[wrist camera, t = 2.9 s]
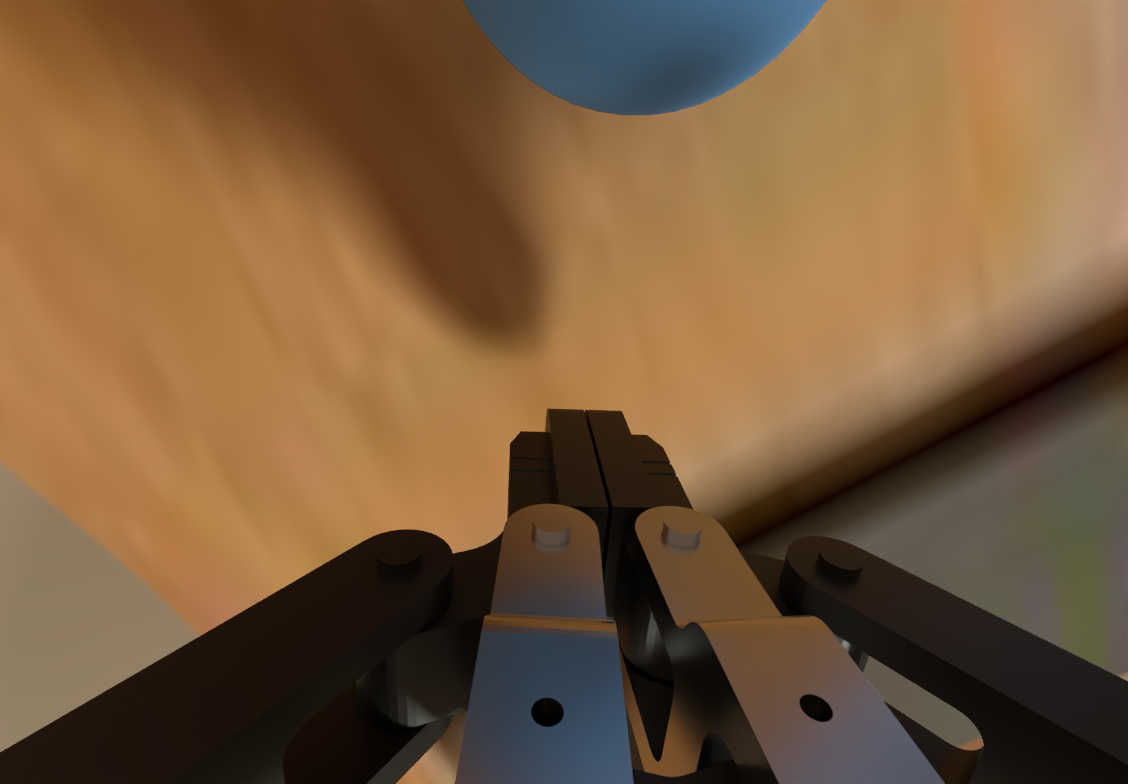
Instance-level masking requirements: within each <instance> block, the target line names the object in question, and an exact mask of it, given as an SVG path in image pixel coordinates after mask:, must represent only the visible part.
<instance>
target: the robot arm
mask: <svg viewBox="0 0 1128 784" xmlns="http://www.w3.org/2000/svg"><path fill="white" fill-rule="evenodd" d="M616 628H617V630H616ZM617 632H618V636H619V644H618V636H617ZM869 656H871V657H873V658H874V659H876V660H877V661H879V662H881V663H882V664H884V665H886V666H887V667H889V668H890V669H892V670H894V671H895V672H897V673H899V674H900V675H902V676H904V677H905V678H907V679H908V680H910V681H912V682H913V683H915V684H917V685H918V686H920V687H921V688H923V689H925V690H926V691H928V692H930V693H931V694H933V695H935V696H936V697H938V698H939V699H941V700H943V701H944V702H946V703H948V704H949V705H951V706H953V707H954V708H956V709H957V710H959V711H960V712H962V713H963V714H964V715H965V716H967V717H968V718H969V719H970V720H971V721H972V722H973V723H974V725H975V726H976V727H977V729H978V730H979V732H980V734H981V736H982V739H983V743H984V746H983V747H982V748H981V749H978V750H974V751H970V750H963V749H960V748H957V747H955V746H952V745H951V744H949V743H947V742H946V741H944V740H943V739H941V738H940V737H938V736H937V735H935V734H933V733H932V732H930V731H929V730H927V729H926V728H924V727H923V726H921V725H920V724H918V723H917V722H915V721H914V720H912V719H911V718H909V717H907V716H906V715H904V714H903V713H901V712H900V711H898V710H897V709H895V708H894V707H892V706H891V705H889V704H888V703H886V702H884V701H883V700H882V698H881V697H880V696H879V694H878V693H877V692H876V690H875V689H874V688H873V686H872V685H871V684H870V682H869V681H868V680H867V678H866V677H865V676H864V674H863V671H864V668H865V665H866V662H867V660H868V657H869ZM625 703H626V707H627V710H628V714H629V718H630V721H631V725H632V728H633V732H634V735H635V739H636V743H637V746H638V750H639V753H640V757H641V760H642V764H643V767H644V771H645V772H644V771H640V770H635V769H632V764H631V754H630V745H629V736H628V727H627V718H626V709H625ZM466 710H468V712H467V717H466V723H465V729H464V735H463V741H462V746H461V752H460V758H459V764H458V769H457V775H456V781H455V784H1128V681H1126V680H1124V679H1122V678H1120V677H1118V676H1116V675H1114V674H1112V673H1110V672H1108V671H1106V670H1104V669H1102V668H1100V667H1098V666H1096V665H1094V664H1092V663H1090V662H1088V661H1086V660H1084V659H1082V658H1080V657H1078V656H1076V655H1074V654H1072V653H1070V652H1068V651H1066V650H1064V649H1062V648H1060V647H1058V646H1056V645H1054V644H1052V643H1050V642H1048V641H1046V640H1044V639H1042V638H1039V637H1037V636H1035V635H1033V634H1031V633H1029V632H1027V631H1025V630H1023V629H1021V628H1019V627H1017V626H1015V625H1013V624H1011V623H1009V622H1007V621H1005V620H1003V619H1001V618H999V617H997V616H995V615H993V614H991V613H989V612H987V611H985V610H983V609H981V608H979V607H977V606H975V605H973V604H971V603H969V602H967V601H965V600H963V599H961V598H959V597H957V596H955V595H953V594H951V593H949V592H947V591H945V590H943V589H941V588H939V587H937V586H935V585H933V584H931V583H929V582H927V581H925V580H923V579H921V578H919V577H917V576H915V575H913V574H911V573H909V572H907V571H905V570H903V569H901V568H899V567H897V566H895V565H893V564H891V563H889V562H887V561H885V560H883V559H881V558H879V557H877V556H875V555H873V554H871V553H869V552H867V551H865V550H863V549H861V548H859V547H856V546H854V545H852V544H849V543H847V542H844V541H841V540H837V539H833V538H828V537H819V536H809V537H803V538H800V539H797V540H795V541H793V542H792V543H791V544H790V545H789V547H788V549H787V553H786V557H785V561H784V560H780V559H775V558H770V557H766V556H761V555H757V554H752V553H748V552H745V551H741V550H738V549H737V548H736V546H735V545H734V543H733V542H732V540H731V539H730V537H729V536H728V534H727V533H726V531H725V530H724V529H723V527H722V526H721V525H720V524H719V523H718V522H716V521H715V520H714V519H712V518H711V517H709V516H707V515H705V514H703V513H701V512H698V511H695V510H693V508H692V506H691V504H690V502H689V500H688V498H687V496H686V494H685V492H684V490H683V488H682V485H681V483H680V481H679V479H678V477H677V476H676V473H675V471H674V469H673V467H672V465H671V464H670V461H669V459H668V457H667V455H666V453H665V451H664V449H663V447H662V446H660V445H659V444H658V443H656V442H655V441H654V440H653V439H651V438H650V437H649V436H647V435H631V433H630V430H629V428H628V425H627V423H626V420H625V418H624V415H623V413H622V411H607V410H585V412H584V410H574V409H547V415H546V428H545V432H523V431H521V432H520V433H519V434H518V435H517V437H516V438H515V439H514V440H513V441H512V442H511V443H510V462H509V487H508V514H507V521H506V523H505V526H504V531H503V532H502V533H501V534H500V535H499V536H498V537H497V538H496V539H494V540H493V541H491V542H490V543H488V544H486V545H484V546H481V547H478V548H475V549H472V550H468V551H463V552H458V553H454V554H453V553H452V550H451V548H450V547H449V545H448V544H447V543H446V542H445V541H444V540H443V539H441V538H440V537H438V536H436V535H434V534H432V533H428V532H425V531H420V530H408V529H406V530H395V531H389V532H385V533H381V534H378V535H376V536H373V537H371V538H369V539H367V540H365V541H363V542H361V543H360V544H358V545H356V546H354V547H353V548H351V549H349V550H348V551H346V552H344V553H342V554H341V555H339V556H337V557H336V558H334V559H332V560H330V561H329V562H327V563H325V564H323V565H322V566H320V567H318V568H317V569H315V570H313V571H311V572H310V573H308V574H306V575H305V576H303V577H301V578H299V579H298V580H296V581H294V582H293V583H291V584H289V585H287V586H286V587H284V588H282V589H281V590H279V591H277V592H275V593H274V594H272V595H270V596H268V597H267V598H265V599H263V600H262V601H260V602H258V603H256V604H255V605H253V606H251V607H250V608H248V609H246V610H244V611H243V612H241V613H239V614H238V615H236V616H234V617H232V618H231V619H229V620H227V621H225V622H224V623H222V624H220V625H219V626H217V627H215V628H213V629H212V630H210V631H208V632H207V633H205V634H203V635H201V636H200V637H198V638H196V639H195V640H193V641H191V642H189V643H188V644H186V645H184V646H183V647H181V648H179V649H177V650H176V651H174V652H172V653H171V654H169V655H167V656H165V657H164V658H162V659H160V660H158V661H157V662H155V663H153V664H152V665H150V666H148V667H146V668H145V669H143V670H141V671H140V672H138V673H136V674H134V675H133V676H131V677H129V678H127V679H126V680H124V681H122V682H121V683H119V684H117V685H115V686H114V687H112V688H110V689H109V690H107V691H105V692H103V693H102V694H100V695H98V696H97V697H95V698H93V699H91V700H90V701H88V702H86V703H85V704H83V705H81V706H79V707H78V708H76V709H74V710H72V711H71V712H69V713H68V714H66V715H64V716H62V717H60V718H59V719H57V720H55V721H54V722H52V723H50V724H49V725H47V726H45V727H43V728H42V729H40V730H38V731H36V732H35V733H33V734H31V735H30V736H28V737H26V738H24V739H23V740H21V741H19V742H18V743H16V744H14V745H12V746H11V747H9V748H7V749H5V750H4V751H2V752H0V784H396V783H397V782H398V781H399V780H400V779H401V778H402V776H403V775H404V774H405V773H406V772H407V771H408V770H409V769H410V768H411V767H412V766H413V765H414V764H415V763H416V762H417V761H418V760H419V759H420V758H421V757H422V756H423V755H424V754H425V753H426V752H427V751H428V750H429V749H430V748H431V747H432V746H433V745H434V744H435V743H436V741H437V740H438V739H439V738H440V737H441V736H442V735H443V734H444V732H445V731H446V730H447V728H448V726H449V724H450V722H451V719H452V716H453V715H454V714H457V713H460V712H463V711H466Z"/></svg>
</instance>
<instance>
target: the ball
mask: <svg viewBox="0 0 1128 784" xmlns="http://www.w3.org/2000/svg"><path fill="white" fill-rule="evenodd" d="M463 1H464V3H465V5H466V7H467V8H468V10H469V12H470V14H471V15H472V17H473V18H474V19H475V21H476V22H477V24H478V25H479V27H480V28H481V29H482V31H483V32H484V34H485V35H486V36H487V38H488V39H489V40H490V42H491V43H492V44H493V45H494V46H495V47H496V48H497V49H498V50H499V52H500V53H501V54H502V55H503V56H504V57H505V58H506V59H507V60H508V62H509V63H511V64H512V65H513V66H514V67H515V68H516V69H518V70H519V71H520V72H521V73H522V74H523V75H525V76H526V77H527V78H528V79H529V80H531V81H532V82H534V83H535V84H537V85H539V86H540V87H542V88H543V89H545V90H546V91H548V92H549V93H551V94H553V95H555V96H557V97H559V98H562V99H564V100H566V101H568V102H570V103H572V104H575V105H578V106H581V107H585V108H588V109H591V110H594V111H599V112H605V113H612V114H619V115H654V114H661V113H668V112H675V111H678V110H682V109H685V108H688V107H692V106H695V105H699V104H701V103H703V102H705V101H708V100H710V99H712V98H714V97H717V96H719V95H721V94H723V93H725V92H727V91H729V90H731V89H732V88H734V87H735V86H737V85H739V84H740V83H742V82H744V81H745V80H747V79H748V78H750V77H752V76H753V75H755V74H756V73H757V72H758V71H760V70H761V69H762V68H763V67H765V66H766V65H767V64H768V63H770V62H771V61H772V60H773V59H775V58H776V57H777V56H778V55H779V54H780V53H781V52H782V51H783V50H784V49H785V48H786V47H787V46H788V45H789V44H790V43H791V42H792V41H793V40H794V39H795V38H796V37H797V36H798V35H799V34H800V32H801V31H802V30H803V29H804V28H805V27H806V26H807V25H808V23H809V22H810V21H811V19H812V18H813V17H814V16H815V14H816V13H817V12H818V10H819V9H820V8H821V7H822V5H823V4H824V3H825V2H826V0H463Z"/></svg>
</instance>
